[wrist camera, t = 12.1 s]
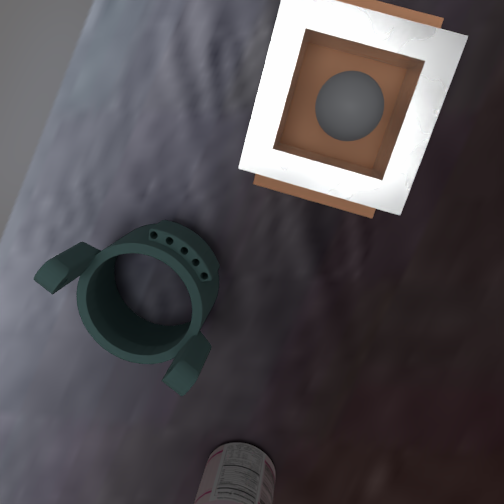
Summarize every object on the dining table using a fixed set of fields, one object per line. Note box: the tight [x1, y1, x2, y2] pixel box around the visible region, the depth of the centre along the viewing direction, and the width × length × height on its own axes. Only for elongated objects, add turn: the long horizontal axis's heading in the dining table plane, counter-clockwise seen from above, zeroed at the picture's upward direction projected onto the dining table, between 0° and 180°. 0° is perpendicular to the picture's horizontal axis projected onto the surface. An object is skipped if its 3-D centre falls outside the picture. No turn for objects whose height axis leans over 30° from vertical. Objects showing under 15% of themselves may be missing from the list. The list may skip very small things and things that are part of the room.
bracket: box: [34, 220, 220, 396], centre depth 30 cm, size 9×9×9 cm
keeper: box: [253, 0, 444, 218], centre depth 24 cm, size 8×12×10 cm, turn 165°
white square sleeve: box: [238, 0, 468, 215], centre depth 26 cm, size 9×9×5 cm
